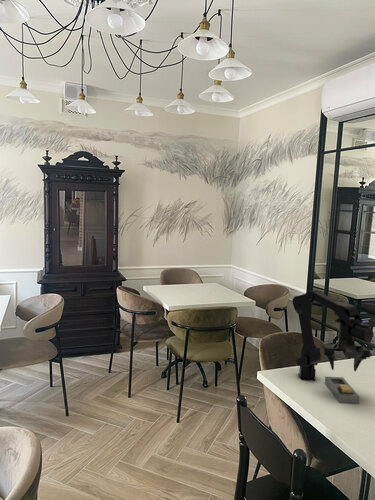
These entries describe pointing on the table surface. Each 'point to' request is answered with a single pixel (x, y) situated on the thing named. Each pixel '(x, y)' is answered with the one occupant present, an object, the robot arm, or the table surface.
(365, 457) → the table surface
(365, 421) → the table surface
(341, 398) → the grey slotted block
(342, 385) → the brass block
